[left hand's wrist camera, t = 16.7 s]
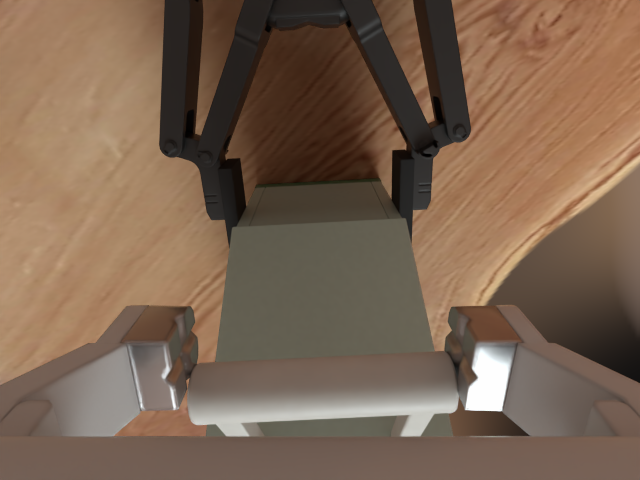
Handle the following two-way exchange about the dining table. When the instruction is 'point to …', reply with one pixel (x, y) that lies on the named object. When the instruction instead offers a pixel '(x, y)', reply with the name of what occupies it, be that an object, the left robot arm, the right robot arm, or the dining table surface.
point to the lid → (324, 337)
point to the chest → (318, 203)
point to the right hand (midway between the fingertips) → (321, 261)
